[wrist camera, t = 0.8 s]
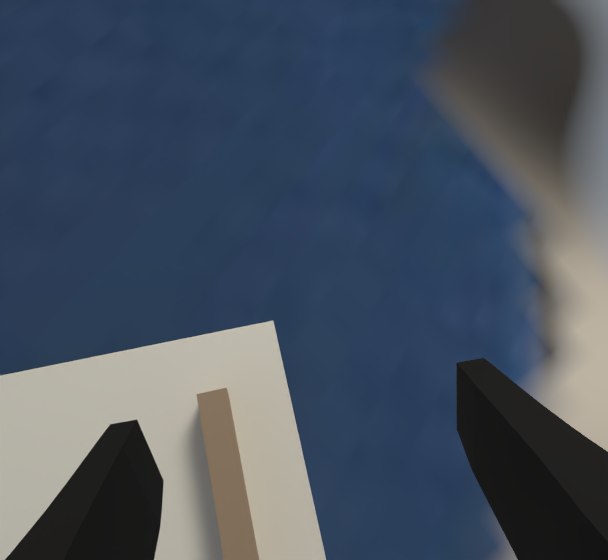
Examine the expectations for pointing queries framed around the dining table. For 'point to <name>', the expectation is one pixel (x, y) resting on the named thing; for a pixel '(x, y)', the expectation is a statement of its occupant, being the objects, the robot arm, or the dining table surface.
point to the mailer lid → (171, 443)
